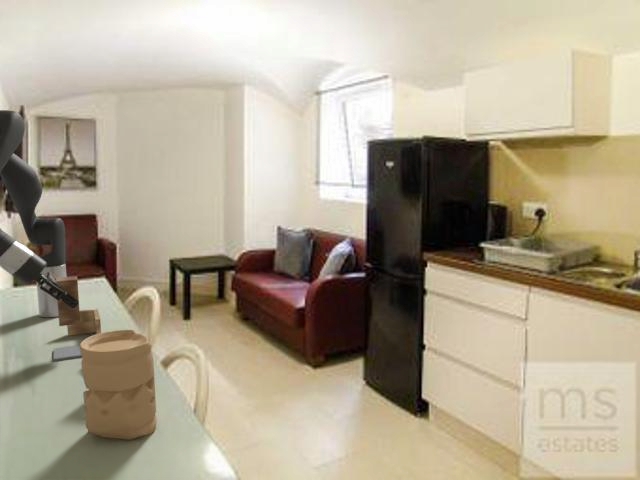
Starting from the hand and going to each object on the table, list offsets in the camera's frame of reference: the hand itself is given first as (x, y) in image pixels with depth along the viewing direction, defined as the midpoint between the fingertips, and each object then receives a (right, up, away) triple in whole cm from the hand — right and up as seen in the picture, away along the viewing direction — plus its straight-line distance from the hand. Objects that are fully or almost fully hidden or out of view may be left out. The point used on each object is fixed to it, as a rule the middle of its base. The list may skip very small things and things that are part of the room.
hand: (76, 302), depth 139 cm
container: (+28, -20, -40) cm, 53 cm away
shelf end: (-4, -12, +13) cm, 18 cm away
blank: (-2, -5, 0) cm, 6 cm away
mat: (-2, -14, +1) cm, 14 cm away
